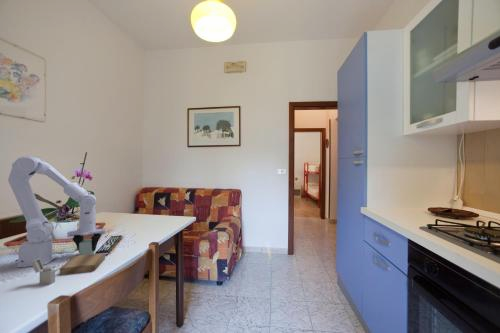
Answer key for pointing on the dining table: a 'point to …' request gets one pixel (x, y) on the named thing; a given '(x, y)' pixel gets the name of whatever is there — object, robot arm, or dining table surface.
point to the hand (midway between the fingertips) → (87, 250)
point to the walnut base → (82, 264)
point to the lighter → (44, 272)
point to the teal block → (85, 247)
